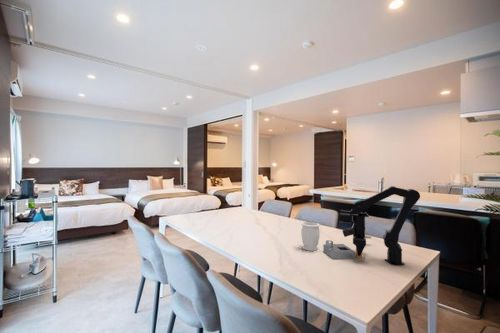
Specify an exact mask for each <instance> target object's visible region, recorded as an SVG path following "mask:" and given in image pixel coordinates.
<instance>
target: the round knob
mask: <svg viewBox="0 0 500 333" xmlns="http://www.w3.org/2000/svg"><path fill="white" fill-rule="evenodd" d="M355 257H356V258H358V259H363V252H362V253H361V255H360V256H358V253H357V248H356V247H355Z"/></svg>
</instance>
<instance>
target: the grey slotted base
mask: <svg viewBox="0 0 500 333" xmlns="http://www.w3.org/2000/svg"><path fill="white" fill-rule="evenodd" d="M323 252H324V253H325V254H326V255H327V256H328V257H330V259H332V260H345V259H349V260H350V259H351V260H353V259H355V250H354V249H352V248H350V247H349V246H347V245H345V244H344V243H334V241H333V240H329V239H328V240H325V243H324V244H323Z"/></svg>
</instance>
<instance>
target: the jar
mask: <svg viewBox="0 0 500 333" xmlns="http://www.w3.org/2000/svg"><path fill="white" fill-rule="evenodd" d="M320 233H321V232H320V224H319V223H318V222H313V221H304V222H303V221H302V222H301V241H302V244H303V246H302V248H303V249H304V250H305V251H309V252H312V251H313V252H315V251H317V250H318V245H319V241H320Z"/></svg>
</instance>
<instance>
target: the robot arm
mask: <svg viewBox="0 0 500 333" xmlns="http://www.w3.org/2000/svg"><path fill="white" fill-rule="evenodd" d="M391 196H399V197H401V198H402V197H403V199H402V204H401V207H400V209H399V211H398V213H397V215H396V218H395V219H394V222H393V224H392V226H391V228H390V229H389V230H388V229H385V232H384V233H383V235H382V239H383V243H384V246H385V247H386V248H387V254H386V255H387V256H386V257H387V258H385V259H384V261H385V262H387V263H389V264H391V265H393V266H398V265H399V266H401V265H405V263H404V261H402V260H403V258H402V257H403V253H402V251H403V249H402V248H403V247H402V246H401V245H400V243H399V237H400V233H401V230H402V228H403V227H404V224H405V223H406V220H407V218H408V215H409V214H410V211H411V210H412V208H414V206H415V205H416V204H417V202H418V201H420V198H421V194H420V192H418V190H416V189H413V188H409V189H404V188H402V187H401V188H400V187H396V186H393V185H391V186H389V187H388V188H386V189H384V190H382V191H380V192H378V193H376V194H374V195H372V196H370V197H367V198H363V199H360V200H357V201H355V202H354V204H353V206H352V208H351V209H350V210H344V209H340V210H339V217H338V222H339V223H345V224H351V223H352V222H353V225H352V227H348V228H344V229H342V234H343V237H349V236H352V244H353V245H354V246H355V249H356V248H357V253H358V256H360V255H361V253H362V254H363V251H364V249H365V247H366V245H367V238H366V239H365V235H366V218H369V217H370V215H369V214H368V213H367V212H366V210H367V209H368V208H370V207H371V206H372V205H374V204H377V203H379V202H380V201H383V200H385V199H387V198H389V197H391ZM364 211H365V212H364Z"/></svg>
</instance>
